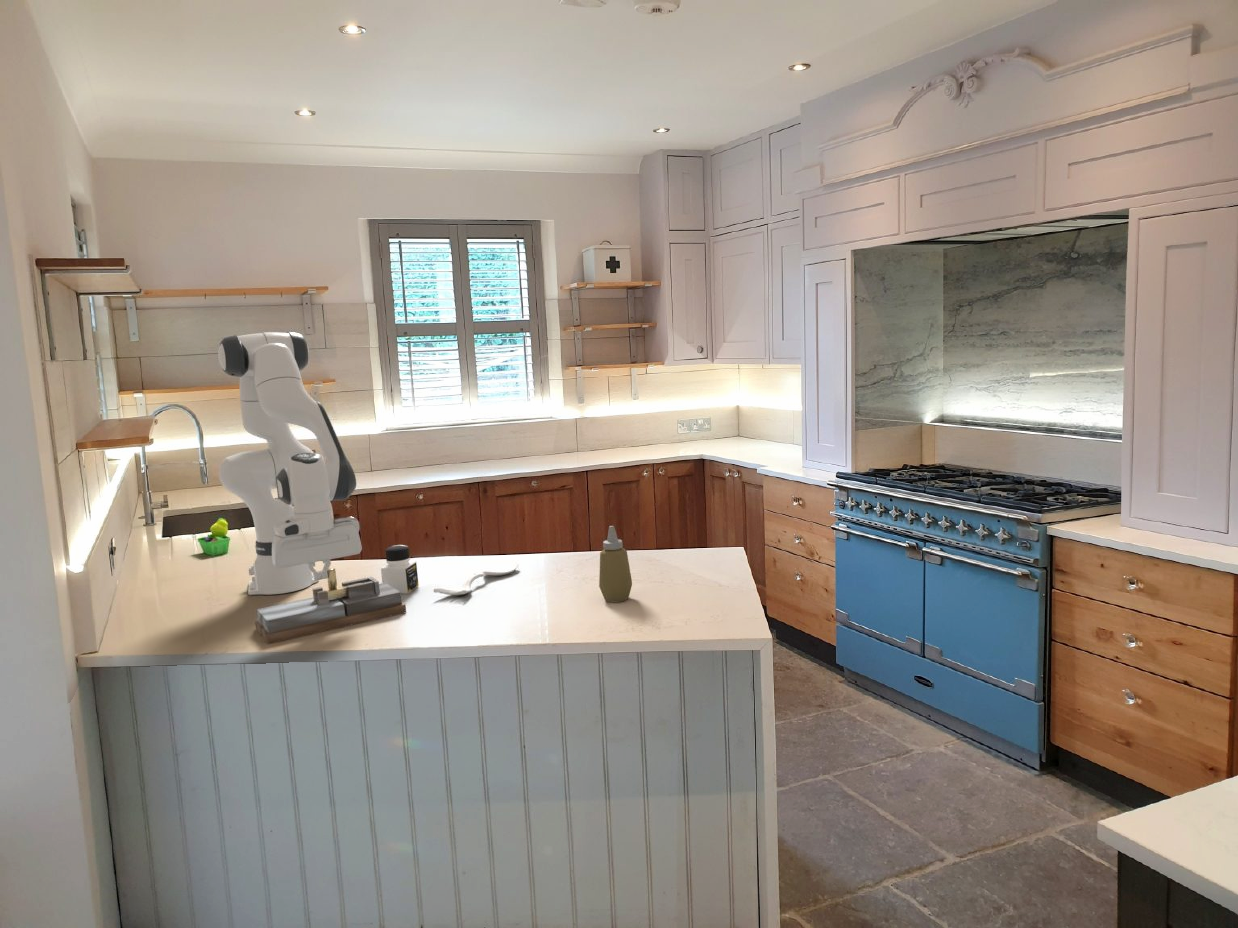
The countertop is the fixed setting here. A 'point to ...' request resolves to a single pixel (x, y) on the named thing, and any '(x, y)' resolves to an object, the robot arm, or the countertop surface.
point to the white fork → (493, 570)
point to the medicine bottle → (400, 569)
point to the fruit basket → (216, 539)
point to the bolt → (335, 586)
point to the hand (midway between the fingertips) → (320, 579)
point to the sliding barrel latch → (329, 610)
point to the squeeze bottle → (614, 569)
